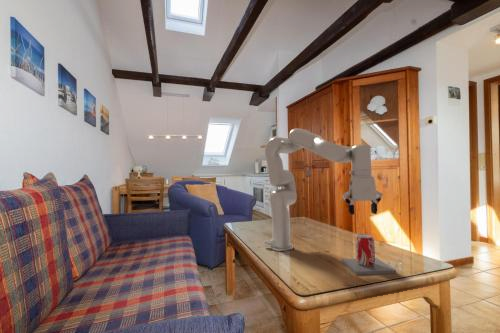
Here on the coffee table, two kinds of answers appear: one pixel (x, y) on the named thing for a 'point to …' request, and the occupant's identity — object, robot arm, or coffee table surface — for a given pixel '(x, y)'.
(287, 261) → the coffee table surface
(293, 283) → the coffee table surface
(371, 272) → the slate board
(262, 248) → the coffee table surface
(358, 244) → the soda can
